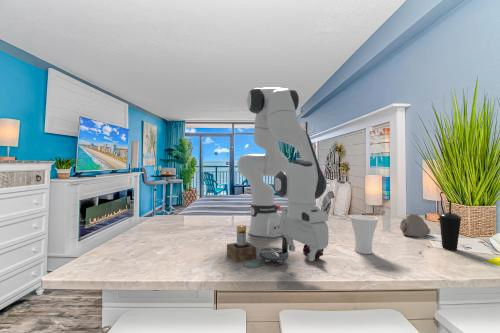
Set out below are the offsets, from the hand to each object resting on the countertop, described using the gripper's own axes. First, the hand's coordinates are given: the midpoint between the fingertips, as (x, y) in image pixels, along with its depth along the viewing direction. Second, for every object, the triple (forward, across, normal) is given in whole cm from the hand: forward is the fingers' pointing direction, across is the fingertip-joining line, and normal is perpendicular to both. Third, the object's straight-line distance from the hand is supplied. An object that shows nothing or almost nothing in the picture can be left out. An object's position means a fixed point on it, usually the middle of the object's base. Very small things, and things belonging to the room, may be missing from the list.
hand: (300, 255), depth 82 cm
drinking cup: (+5, +8, +71) cm, 71 cm away
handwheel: (+3, -10, -3) cm, 11 cm away
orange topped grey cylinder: (+5, -20, -11) cm, 24 cm away
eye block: (+5, -20, -11) cm, 24 cm away
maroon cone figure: (+5, -7, +12) cm, 15 cm away
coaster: (+5, -12, -11) cm, 17 cm away
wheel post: (+5, -10, -3) cm, 12 cm away
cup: (+5, -5, +35) cm, 36 cm away
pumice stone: (+5, -11, +80) cm, 81 cm away
